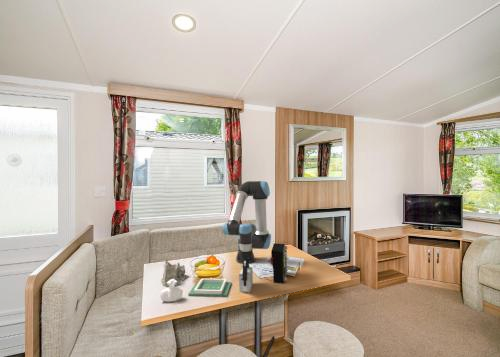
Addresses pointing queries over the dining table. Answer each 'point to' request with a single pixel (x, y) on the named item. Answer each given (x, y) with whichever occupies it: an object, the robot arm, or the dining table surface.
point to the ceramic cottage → (173, 273)
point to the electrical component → (279, 262)
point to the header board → (211, 288)
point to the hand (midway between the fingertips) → (246, 286)
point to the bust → (171, 292)
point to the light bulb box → (249, 279)
